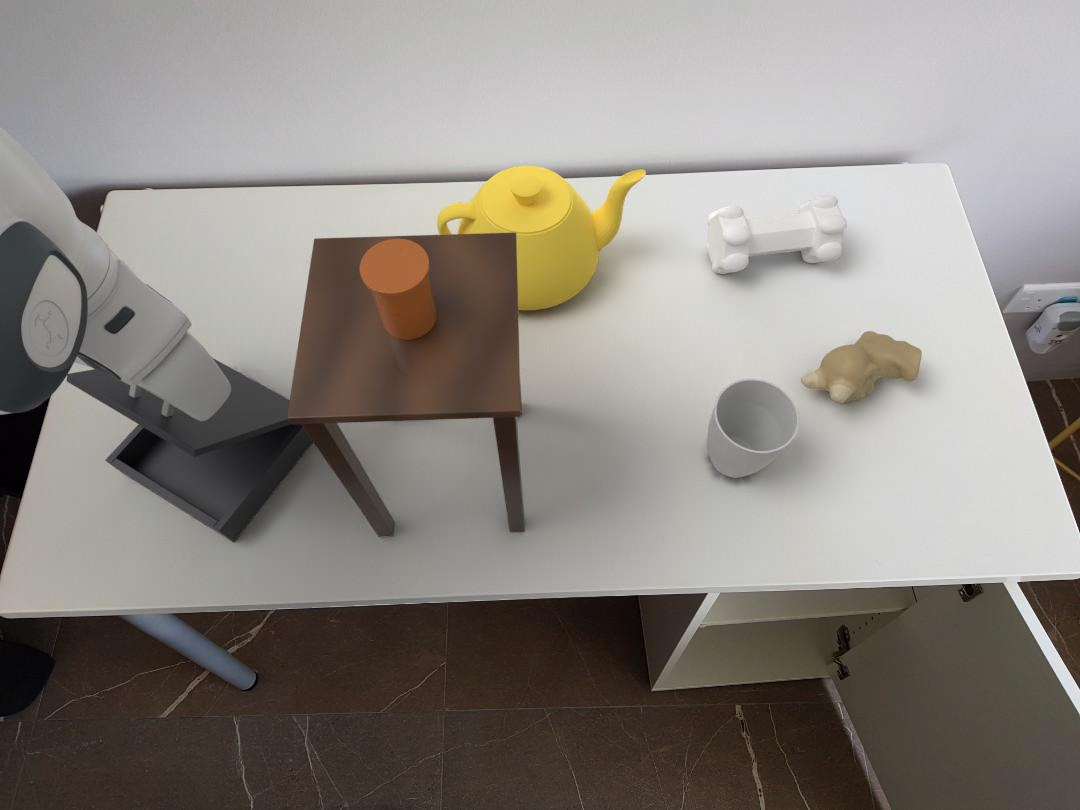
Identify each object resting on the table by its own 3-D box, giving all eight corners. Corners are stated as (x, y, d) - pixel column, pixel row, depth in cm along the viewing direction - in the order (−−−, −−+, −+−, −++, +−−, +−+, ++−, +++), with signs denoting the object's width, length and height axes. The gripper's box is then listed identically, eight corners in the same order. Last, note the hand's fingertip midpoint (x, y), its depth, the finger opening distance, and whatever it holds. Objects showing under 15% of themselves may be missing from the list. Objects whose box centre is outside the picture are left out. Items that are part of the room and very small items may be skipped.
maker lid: (193, 457, 61) (204, 409, 59) (66, 381, 65) (72, 333, 63) (309, 417, 75) (320, 377, 74) (198, 357, 79) (206, 317, 77)
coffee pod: (417, 353, 51) (403, 303, 45) (365, 327, 52) (345, 275, 46) (452, 307, 52) (442, 254, 47) (401, 283, 53) (386, 229, 48)
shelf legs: (378, 536, 73) (297, 419, 49) (388, 407, 80) (321, 250, 56) (524, 531, 73) (515, 412, 49) (521, 403, 80) (511, 244, 56)
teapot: (620, 201, 95) (631, 116, 83) (647, 307, 86) (663, 231, 74) (434, 220, 93) (418, 137, 81) (443, 330, 85) (427, 256, 73)
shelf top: (291, 424, 49) (286, 418, 48) (317, 246, 56) (313, 238, 56) (520, 417, 49) (520, 410, 48) (516, 240, 57) (516, 231, 56)
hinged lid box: (234, 542, 73) (219, 531, 69) (123, 474, 77) (104, 460, 73) (321, 431, 79) (311, 416, 75) (215, 373, 82) (201, 356, 79)
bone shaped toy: (810, 224, 92) (833, 178, 85) (832, 276, 88) (857, 232, 81) (699, 237, 92) (712, 191, 84) (716, 290, 88) (731, 247, 80)
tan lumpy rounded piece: (936, 356, 76) (861, 380, 71) (906, 407, 80) (834, 433, 75) (876, 317, 81) (802, 336, 76) (851, 366, 86) (780, 387, 80)
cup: (775, 491, 75) (805, 453, 66) (698, 490, 75) (719, 452, 66) (764, 423, 79) (792, 378, 70) (692, 422, 79) (710, 378, 70)
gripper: (-58, 272, 54) (55, 364, 66) (140, 387, 49) (222, 463, 61) (7, 217, 56) (104, 316, 68) (201, 320, 51) (268, 407, 64)
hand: (161, 386), depth 65 cm, fingers closed on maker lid, 5 cm apart
